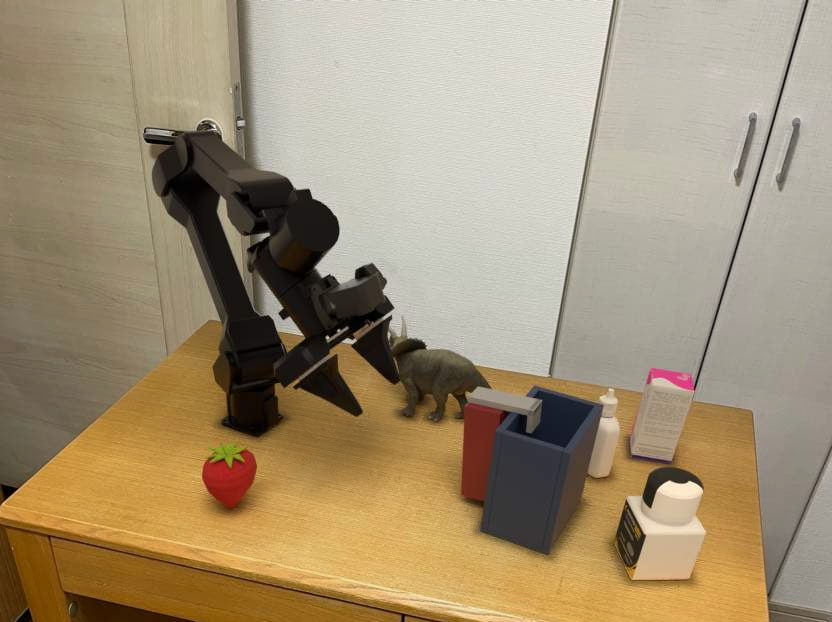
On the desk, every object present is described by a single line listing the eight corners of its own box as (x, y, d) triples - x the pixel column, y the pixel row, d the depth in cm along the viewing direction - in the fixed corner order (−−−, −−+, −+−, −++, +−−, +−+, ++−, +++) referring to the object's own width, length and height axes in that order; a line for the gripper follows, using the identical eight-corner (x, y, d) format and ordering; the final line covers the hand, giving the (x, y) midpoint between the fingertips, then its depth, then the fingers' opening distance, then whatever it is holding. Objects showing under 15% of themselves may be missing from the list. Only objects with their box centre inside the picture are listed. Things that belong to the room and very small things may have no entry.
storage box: (479, 531, 98) (495, 430, 89) (517, 480, 107) (534, 385, 98) (548, 555, 95) (570, 453, 86) (580, 501, 104) (604, 404, 95)
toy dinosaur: (513, 423, 119) (524, 353, 112) (486, 447, 113) (497, 375, 106) (389, 380, 127) (392, 312, 120) (358, 400, 122) (360, 330, 115)
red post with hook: (460, 495, 101) (464, 399, 93) (476, 476, 105) (481, 382, 97) (521, 511, 98) (530, 414, 90) (535, 491, 102) (545, 396, 94)
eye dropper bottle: (607, 459, 113) (627, 382, 105) (608, 481, 108) (629, 402, 101) (576, 454, 113) (593, 377, 106) (576, 476, 109) (594, 397, 101)
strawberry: (269, 497, 101) (266, 428, 95) (236, 530, 95) (230, 459, 89) (229, 484, 103) (223, 416, 96) (194, 515, 97) (185, 445, 91)
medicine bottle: (612, 542, 98) (636, 459, 90) (668, 542, 98) (696, 459, 91) (630, 581, 92) (657, 496, 85) (689, 580, 93) (721, 496, 85)
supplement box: (672, 464, 112) (695, 391, 105) (629, 458, 113) (649, 385, 106) (669, 443, 117) (692, 372, 110) (628, 437, 118) (648, 366, 110)
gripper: (293, 271, 79) (386, 401, 83) (383, 223, 93) (460, 337, 96) (234, 327, 87) (321, 444, 90) (325, 276, 100) (398, 379, 103)
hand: (379, 398), depth 95 cm, fingers open, 9 cm apart
